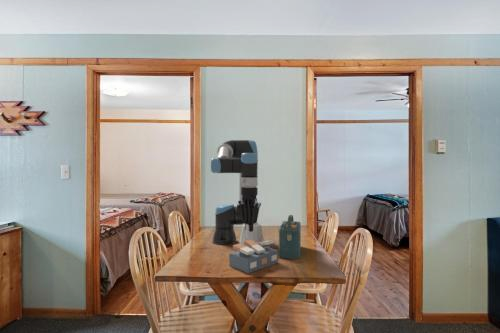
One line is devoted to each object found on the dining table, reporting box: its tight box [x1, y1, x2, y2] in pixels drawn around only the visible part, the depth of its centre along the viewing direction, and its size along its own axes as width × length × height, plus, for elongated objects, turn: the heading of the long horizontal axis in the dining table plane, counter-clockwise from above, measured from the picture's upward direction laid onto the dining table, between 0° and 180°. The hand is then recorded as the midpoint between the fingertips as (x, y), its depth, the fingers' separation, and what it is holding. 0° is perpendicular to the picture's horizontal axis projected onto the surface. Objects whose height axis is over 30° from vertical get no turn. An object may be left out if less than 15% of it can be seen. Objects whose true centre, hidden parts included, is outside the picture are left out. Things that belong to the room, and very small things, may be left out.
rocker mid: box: [244, 240, 265, 254], centre depth 130 cm, size 10×5×2 cm, turn 44°
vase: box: [238, 222, 265, 247], centre depth 151 cm, size 14×14×15 cm
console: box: [228, 244, 279, 274], centre depth 130 cm, size 13×21×8 cm, turn 134°
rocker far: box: [257, 239, 274, 247], centre depth 135 cm, size 10×5×2 cm, turn 44°
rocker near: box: [232, 243, 255, 255], centre depth 125 cm, size 10×5×2 cm, turn 44°
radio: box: [278, 214, 302, 260], centre depth 150 cm, size 26×11×20 cm, turn 168°
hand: (249, 238), depth 123 cm, fingers closed
